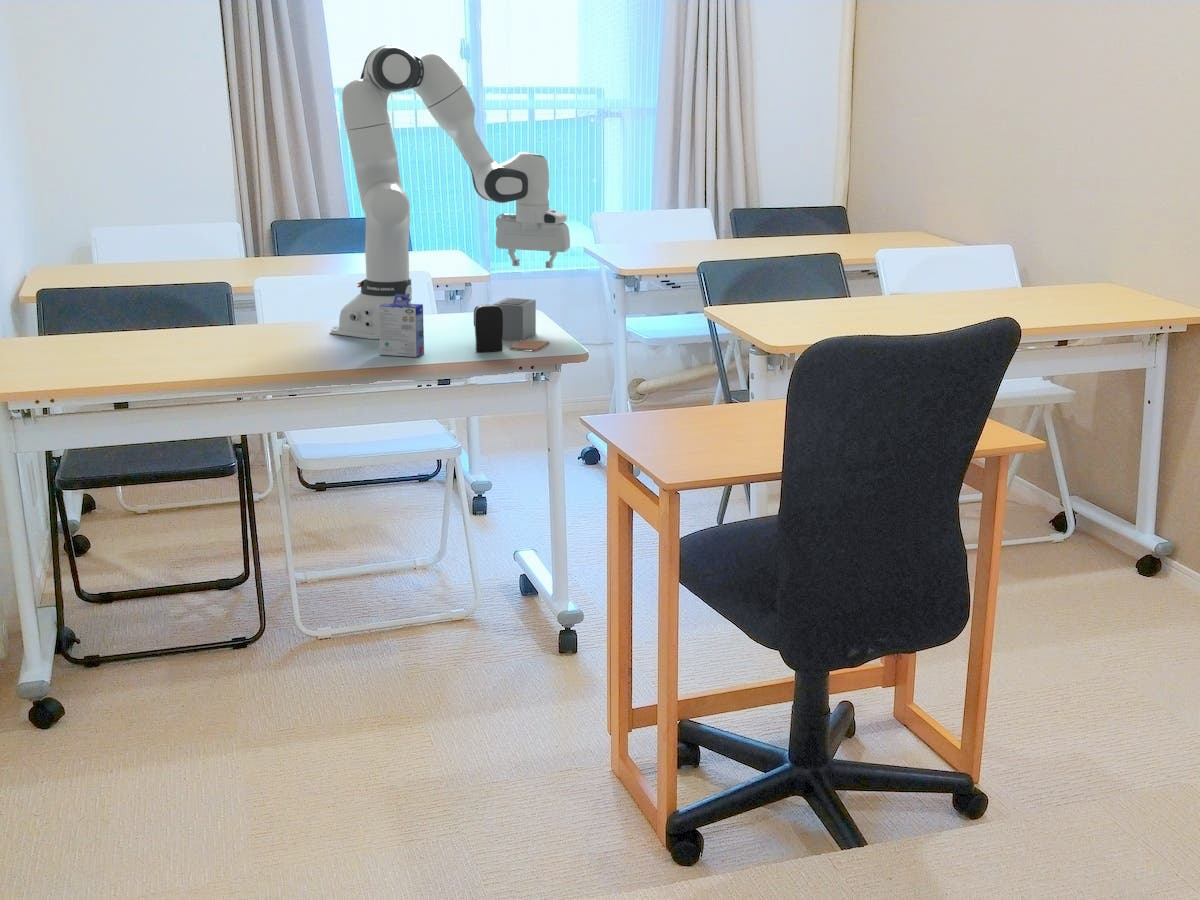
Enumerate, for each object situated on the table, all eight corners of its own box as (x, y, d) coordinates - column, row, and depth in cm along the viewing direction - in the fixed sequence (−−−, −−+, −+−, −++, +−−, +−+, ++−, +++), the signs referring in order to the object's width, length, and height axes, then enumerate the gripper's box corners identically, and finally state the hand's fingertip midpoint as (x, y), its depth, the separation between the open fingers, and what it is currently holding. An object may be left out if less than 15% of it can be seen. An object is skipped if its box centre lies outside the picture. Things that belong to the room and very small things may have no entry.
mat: (509, 349, 293) (509, 347, 293) (523, 341, 303) (523, 339, 302) (536, 351, 292) (536, 349, 291) (549, 343, 301) (549, 341, 301)
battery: (500, 348, 295) (499, 302, 291) (503, 351, 291) (503, 305, 288) (472, 349, 293) (471, 304, 289) (476, 353, 289) (475, 306, 286)
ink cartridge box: (425, 353, 288) (423, 294, 284) (417, 358, 283) (416, 298, 279) (387, 350, 290) (385, 292, 286) (378, 355, 285) (376, 296, 281)
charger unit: (493, 338, 306) (493, 303, 303) (508, 330, 315) (507, 296, 313) (522, 340, 304) (522, 305, 301) (536, 332, 313) (536, 298, 311)
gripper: (491, 214, 313) (492, 266, 317) (564, 217, 308) (564, 270, 312) (500, 211, 319) (500, 263, 323) (572, 215, 314) (571, 267, 318)
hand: (532, 267), depth 317 cm, fingers open, 8 cm apart
